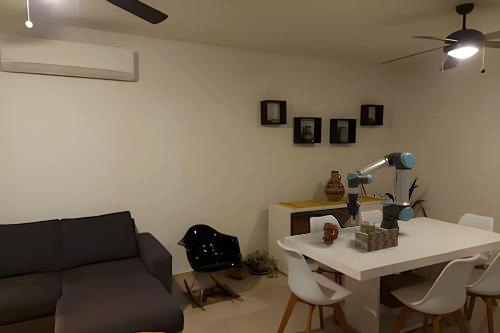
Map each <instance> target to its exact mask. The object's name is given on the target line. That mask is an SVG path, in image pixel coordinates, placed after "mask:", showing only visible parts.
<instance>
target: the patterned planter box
mask: <svg viewBox="0 0 500 333" xmlns="http://www.w3.org/2000/svg"><path fill="white" fill-rule="evenodd" d="M354 234H355V236H354V246H355V247H357V248H361V249H362V250H366V251H367V252H369V253H372V252H374V251H375V252H376V251H381V250H384V249H390V248H394V247H398V246H399V231H398V229H396V228H395V229H390V230H387V229H383V228H380V227H377V231H375V232H373V233H368V234H365V233H362V232H360V231H355V233H354Z"/></svg>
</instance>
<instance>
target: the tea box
mask: <svg viewBox="0 0 500 333" xmlns="http://www.w3.org/2000/svg"><path fill="white" fill-rule="evenodd" d="M359 226H360V227H359V232H362V233H365V234H368V233H373V232H376V225H375V221H373V220H360V225H359Z"/></svg>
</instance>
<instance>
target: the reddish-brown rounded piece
mask: <svg viewBox="0 0 500 333" xmlns="http://www.w3.org/2000/svg"><path fill="white" fill-rule="evenodd" d="M322 227H323V228H322V230H323V237H322V240H323V242H324V243H325V244H328V245H329V244H333V243H335V242H334V241H335V240H338V237H339V234H340V232H339V226H338V225H337V224H335V223H332V222H324V224H323V226H322Z"/></svg>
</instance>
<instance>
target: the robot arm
mask: <svg viewBox="0 0 500 333" xmlns="http://www.w3.org/2000/svg"><path fill="white" fill-rule="evenodd" d="M415 164H416V158H415V156H414V155H413V153H410V152H407V151H406V152H405V151H404V152H397V151H396V152H395V151H394V152H390V153H389V154H386V155H384V156H382V157H380V159H378V160H376V161H374V162H373V163H371V164H369V165H366V166H365V167H363V168H360V169H359V170H356V171H350V172H348V173H347V175H346V180H347V198H348V199H347V200H346V201H345V204H346V208H347V214H348V215H349V216H350V224H351V225H356V217H357V216H358V215H359V211H360V206H361V202H359V185H371V184H372V183H373V176H372V175H374V174H375V173H377V172H379V171H382V170H383V169H388V168H391V167H395V171H396V172H397V176H396V177H397V179H396V180H397V182H396V201H386V202H383V203H382V217H381V218H382V220H381V222H380V225H379V228H383V229H387V230H390V229H395V228H396V229H398V232H399V231H400V226H399V223H398V221H400V222H408V221H411V220H412V219H413V217H414V214H415V213H414V211H415V210H414V209H413V208H412V207H411V203H410V202H409V197H410V196H409V194H410V192H409V191H410V172H411V171H412V168H413V167H414V166H415Z"/></svg>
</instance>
